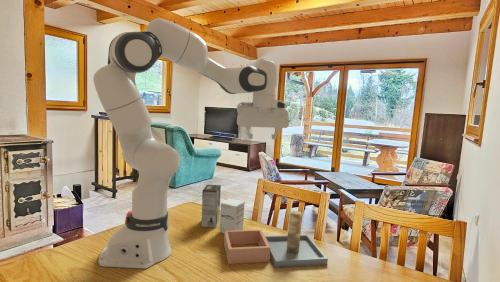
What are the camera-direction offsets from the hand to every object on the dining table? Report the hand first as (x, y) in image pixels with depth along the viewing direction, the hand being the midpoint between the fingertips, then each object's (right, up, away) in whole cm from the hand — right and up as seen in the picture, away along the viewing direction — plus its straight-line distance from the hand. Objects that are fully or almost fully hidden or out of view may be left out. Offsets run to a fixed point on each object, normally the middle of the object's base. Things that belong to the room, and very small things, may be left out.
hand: (262, 138), depth 113 cm
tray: (+11, -41, -9) cm, 43 cm away
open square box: (-6, -40, -10) cm, 42 cm away
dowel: (+11, -40, -9) cm, 43 cm away
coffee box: (-22, -37, +13) cm, 45 cm away
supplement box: (-12, -38, +6) cm, 41 cm away
